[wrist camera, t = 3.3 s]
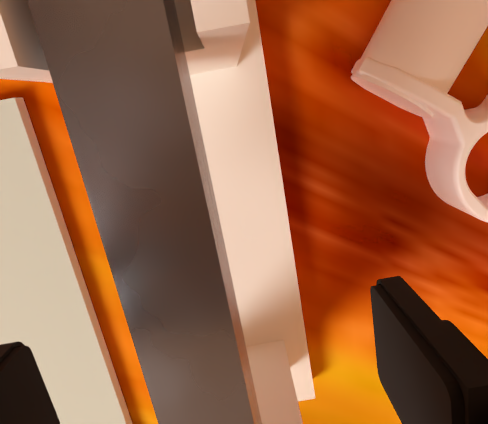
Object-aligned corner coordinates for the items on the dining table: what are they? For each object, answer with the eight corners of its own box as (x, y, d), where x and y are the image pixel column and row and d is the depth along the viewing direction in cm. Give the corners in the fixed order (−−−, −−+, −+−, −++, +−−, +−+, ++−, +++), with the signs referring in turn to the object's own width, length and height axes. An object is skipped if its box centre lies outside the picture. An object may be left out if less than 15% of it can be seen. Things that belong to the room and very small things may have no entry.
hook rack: (77, -7, 18) (-233, -217, 6) (246, -39, 18) (284, -320, 6) (189, 402, 25) (153, 686, 13) (310, 380, 25) (387, 647, 13)
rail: (44, -96, 8) (-25, -167, 6) (150, -117, 8) (121, -195, 6) (228, 565, 15) (228, 651, 13) (289, 555, 15) (300, 639, 13)
